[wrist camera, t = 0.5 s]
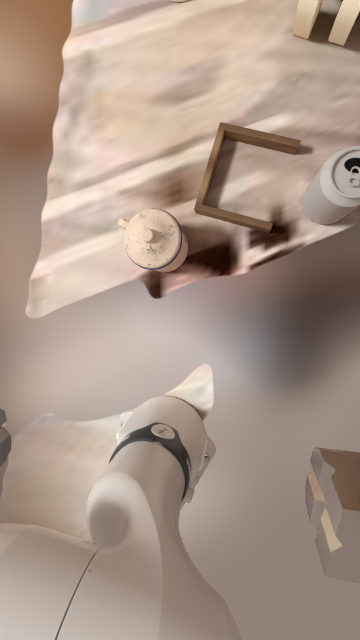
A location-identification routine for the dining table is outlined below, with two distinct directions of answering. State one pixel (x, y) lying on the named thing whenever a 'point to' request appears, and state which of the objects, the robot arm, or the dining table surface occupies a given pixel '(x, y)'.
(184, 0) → the coffee can
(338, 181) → the can
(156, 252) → the teacup with lid
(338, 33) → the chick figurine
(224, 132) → the frame
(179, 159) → the dining table surface
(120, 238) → the dining table surface
